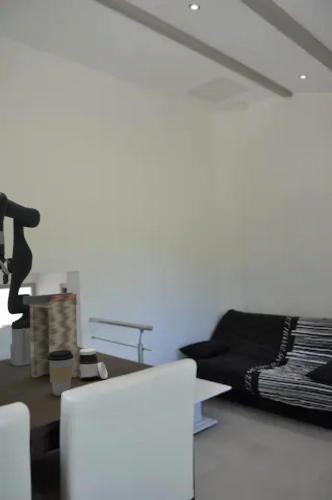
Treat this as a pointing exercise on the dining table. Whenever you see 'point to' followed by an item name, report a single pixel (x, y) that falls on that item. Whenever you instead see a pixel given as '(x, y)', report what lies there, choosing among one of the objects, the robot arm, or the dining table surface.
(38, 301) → the bar
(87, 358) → the spread jar
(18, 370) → the dining table surface
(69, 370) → the coffee cup
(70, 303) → the wooden open box
